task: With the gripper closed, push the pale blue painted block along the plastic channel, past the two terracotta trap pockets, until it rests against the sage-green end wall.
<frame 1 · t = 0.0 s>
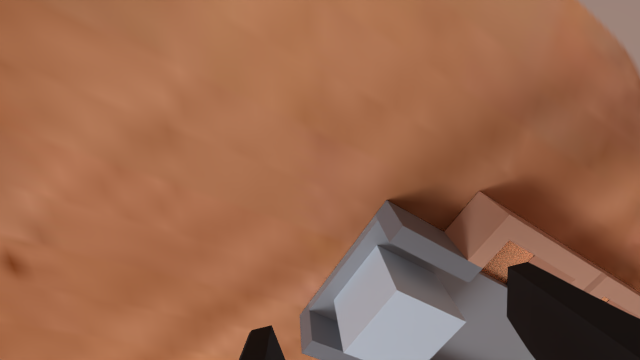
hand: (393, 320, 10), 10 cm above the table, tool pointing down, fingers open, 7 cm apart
block: (384, 287, 22), point 1 cm above the table, touching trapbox
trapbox: (469, 321, 25), on the table
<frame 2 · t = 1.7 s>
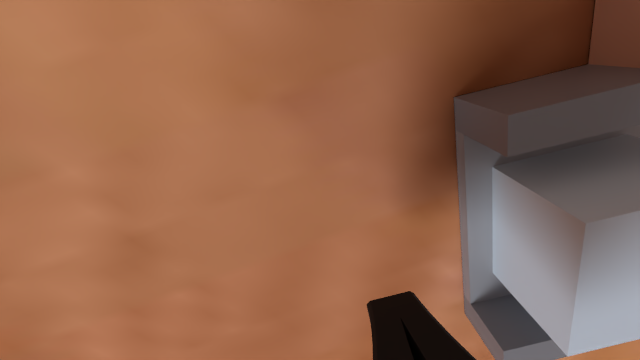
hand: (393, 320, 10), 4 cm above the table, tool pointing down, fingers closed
block: (553, 208, 13), point 1 cm above the table, touching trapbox
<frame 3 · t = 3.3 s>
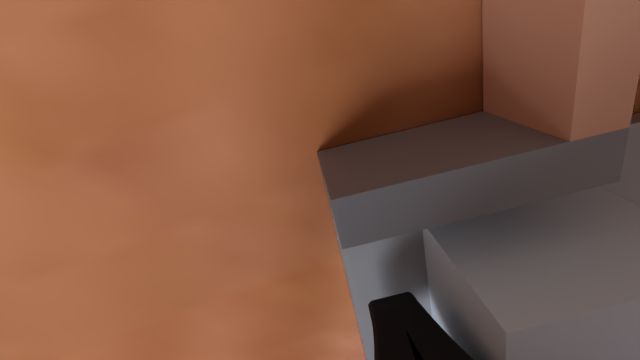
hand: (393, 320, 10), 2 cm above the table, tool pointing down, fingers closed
block: (502, 266, 11), point 1 cm above the table, touching gripper, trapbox
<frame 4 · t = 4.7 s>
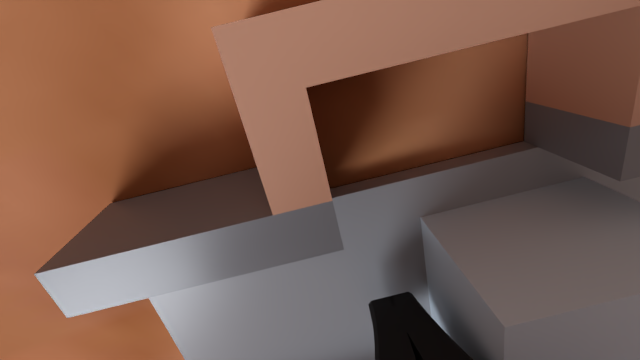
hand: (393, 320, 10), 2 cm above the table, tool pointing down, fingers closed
block: (501, 263, 11), point 1 cm above the table, touching gripper, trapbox
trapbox: (519, 249, 11), on the table
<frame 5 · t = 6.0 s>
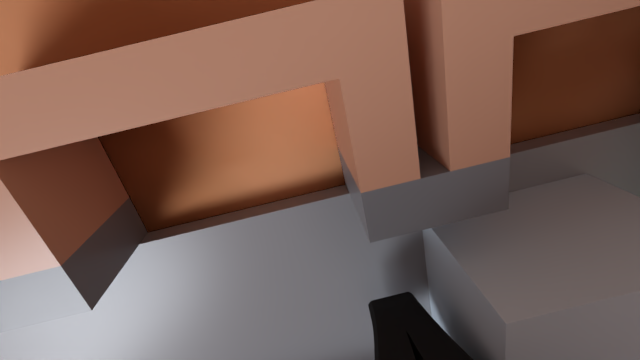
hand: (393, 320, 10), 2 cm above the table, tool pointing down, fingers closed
block: (502, 260, 10), point 1 cm above the table, touching gripper
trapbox: (366, 286, 11), on the table
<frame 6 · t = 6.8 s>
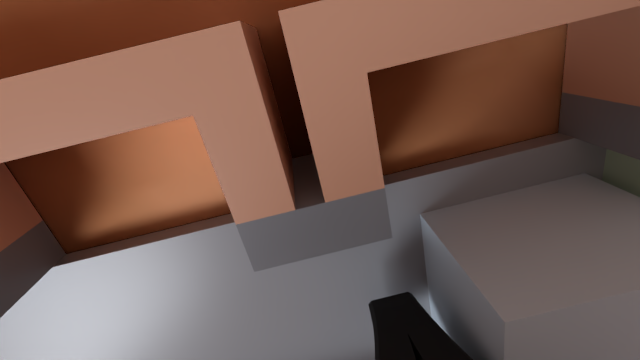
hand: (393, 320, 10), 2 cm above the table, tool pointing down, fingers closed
block: (501, 260, 10), point 1 cm above the table, touching gripper, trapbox
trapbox: (296, 304, 11), on the table
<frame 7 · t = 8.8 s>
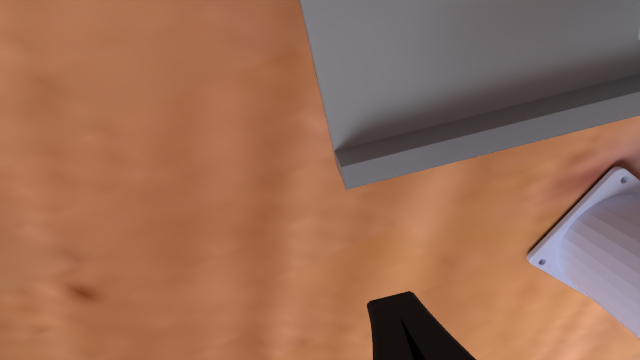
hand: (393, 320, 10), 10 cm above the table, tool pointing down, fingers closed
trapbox: (547, 15, 16), on the table
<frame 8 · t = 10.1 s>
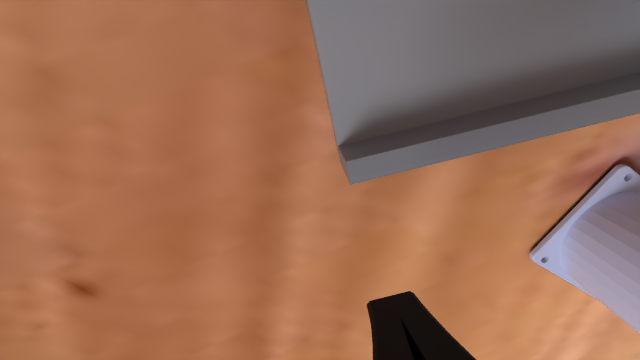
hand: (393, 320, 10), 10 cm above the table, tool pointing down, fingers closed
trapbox: (553, 10, 16), on the table
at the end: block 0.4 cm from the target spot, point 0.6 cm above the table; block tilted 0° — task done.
